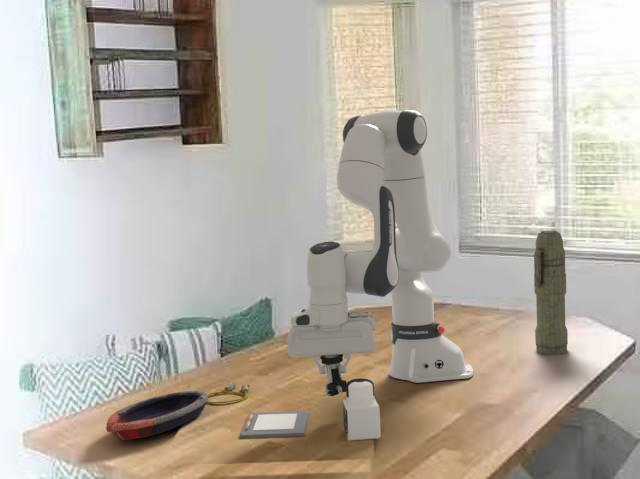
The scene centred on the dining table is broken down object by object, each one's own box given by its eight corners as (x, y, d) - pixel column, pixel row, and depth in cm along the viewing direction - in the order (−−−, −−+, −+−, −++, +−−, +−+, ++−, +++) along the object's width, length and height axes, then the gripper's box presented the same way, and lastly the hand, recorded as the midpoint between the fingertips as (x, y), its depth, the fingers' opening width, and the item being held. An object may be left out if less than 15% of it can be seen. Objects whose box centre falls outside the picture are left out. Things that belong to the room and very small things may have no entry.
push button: (331, 399, 202) (325, 356, 201) (316, 396, 206) (310, 354, 205) (352, 391, 206) (347, 349, 205) (337, 389, 210) (331, 347, 209)
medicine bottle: (344, 430, 197) (341, 377, 196) (376, 428, 197) (373, 375, 196) (347, 441, 190) (345, 386, 188) (381, 438, 190) (378, 383, 189)
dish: (226, 411, 216) (225, 391, 216) (131, 450, 191) (129, 428, 191) (180, 403, 225) (179, 384, 225) (83, 439, 200) (81, 418, 200)
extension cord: (268, 394, 231) (267, 386, 230) (223, 409, 219) (223, 401, 219) (235, 387, 239) (234, 380, 238) (190, 402, 227) (190, 394, 227)
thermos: (576, 350, 258) (574, 229, 254) (554, 359, 249) (551, 234, 246) (549, 346, 264) (546, 228, 260) (527, 354, 256) (524, 233, 252)
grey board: (308, 413, 210) (308, 407, 210) (304, 435, 195) (303, 429, 194) (249, 415, 211) (249, 409, 211) (240, 438, 195) (239, 431, 195)
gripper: (374, 308, 206) (378, 366, 208) (286, 313, 207) (290, 371, 209) (375, 314, 200) (378, 374, 202) (284, 319, 201) (288, 379, 203)
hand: (333, 373), depth 205 cm, fingers closed on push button, 3 cm apart
